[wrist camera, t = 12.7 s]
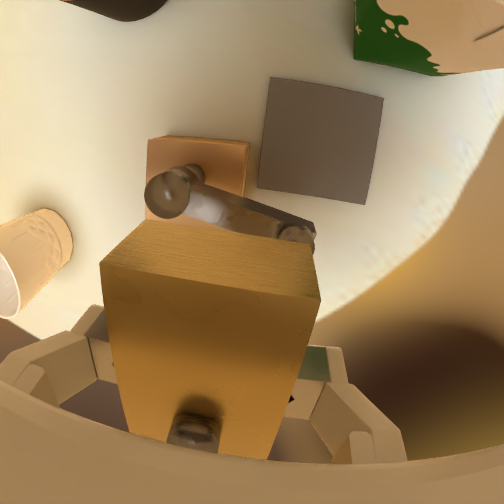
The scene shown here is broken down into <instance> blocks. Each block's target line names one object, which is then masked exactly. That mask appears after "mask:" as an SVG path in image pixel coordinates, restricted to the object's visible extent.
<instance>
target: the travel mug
mask: <svg viewBox="0 0 504 504" xmlns="http://www.w3.org/2000/svg"><path fill="white" fill-rule="evenodd" d="M60 1H64V2H67V3H70V4H73V5H76V6H79V7H82V8H85V9H87V10H90V11H93V12H96V13H98V14H101V15H104V16H106V17H109V18H112V19H115V20H118V21H125V22H127V21H136V20H139V19H142V18H145V17H147V16H149V15H151V14H152V13H154V12H155V11H157V10H158V9H159V8H160V7H161V6H162V5H163V4H164V3H165V2H166V1H167V0H60Z"/></svg>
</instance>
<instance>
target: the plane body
mask: <svg viewBox="0 0 504 504" xmlns="http://www.w3.org/2000/svg"><path fill="white" fill-rule="evenodd" d="M249 146H250V143H246V142H237V141H227V140H217V139H205V138H193V137H178V136H163V137H158V138H154V139H149V140H148V148H147V170H146V185H147V183H148V182H149V181H150V179H152V178H153V177H154V176H156V175H158V174H160V173H162V172H164V171H165V170H167V169H169V168H171V167H174V166H184V167H187V168H189V169H190V170H192V171H193V172H194V173H195V175H196V176H197V178H198V181H199V182H201V183H204V184H207V185H210V186H213V187H216V188H218V189H221V190H224V191H227V192H230V193H233V194H236V195H239V196H242V197H244V189H245V180H246V172H247V163H248V154H249ZM146 219H149V220H156V221H163V222H170V223H177V224H183V225H190V226H197V227H203V228H210V229H216V230H223V231H229V232H234V231H231V230H228V229H225V228H222V227H219V226H217V225H214V224H211V223H208V222H205V221H202V220H199V219H196V218H194V217H191V216H188V215H185V214H181V215H179V216H178V217H175V218H172V219H163V218H160V217H158V216H156V215H154V214H153V213H152V212H151V211H150V210H149V208H148V207H147V205H146ZM236 233H237V232H236Z"/></svg>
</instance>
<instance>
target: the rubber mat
mask: <svg viewBox="0 0 504 504" xmlns="http://www.w3.org/2000/svg"><path fill="white" fill-rule="evenodd" d="M383 100H384V98H380V97H376V96H372V95H368V94H364V93H359V92H355V91H350V90H346V89H341V88H336V87H331V86H325V85H320V84H314V83H308V82H302V81H295V80H288V79H281V78H273V77H270V84H269V92H268V100H267V108H266V116H265V124H264V132H263V140H262V148H261V156H260V165H259V173H258V181H257V188H260V189H268V190H275V191H282V192H289V193H295V194H302V195H309V196H315V197H321V198H327V199H333V200H339V201H345V202H351V203H357V204H362V205H365V203H366V198H367V193H368V188H369V183H370V178H371V173H372V168H373V163H374V157H375V152H376V146H377V140H378V134H379V128H380V121H381V114H382V107H383Z"/></svg>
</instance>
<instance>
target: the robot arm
mask: <svg viewBox="0 0 504 504" xmlns="http://www.w3.org/2000/svg"><path fill="white" fill-rule="evenodd" d="M97 378H98V379H101V380H105V381H108V382H112V383H116V384H118V383H117V378H116V374H115V369H114V364H113V358H112V353H111V348H110V342H109V336H108V330H107V323H106V316H105V309H104V307H103V306H99V305H96V304H94V305H91V306H90V307H89V308H88V310H87V311H86V312H85V313H84V314H83V316H82V317H81V318H80V319H79V321H78V322H77V323H76V324H75V326H74V327H73V328H72V329H71V331H70V332H69V331H64V332H61V333H59V334H56V335H54V336H51V337H48V338H46V339H43V340H41V341H38V342H36V343H33V344H31V345H28V346H26V347H23V348H21V349H18V350H16V351H13V352H11V353H9V355H8V356H7V357H6V358H5V359H4V361H3V362H2V363H1V364H0V504H504V445H500V446H496V447H492V448H487V449H483V450H479V451H474V452H469V453H464V454H458V455H452V456H446V457H439V458H432V459H424V460H415V461H407V457H406V453H405V449H404V444H403V440H402V436H401V433H400V430H399V429H398V428H397V427H396V426H395V425H394V424H393V423H392V422H391V421H390V420H389V419H388V418H387V417H386V416H385V415H384V414H383V413H382V412H381V411H380V410H379V409H377V408H376V407H375V405H373V404H372V403H371V402H370V401H369V400H368V399H367V398H366V397H365V396H364V395H363V394H362V393H361V392H360V391H359V390H358V389H357V388H356V387H355V386H354V385H353V384H348V380H347V374H346V369H345V364H344V359H343V354H342V350H341V348H340V347H328V346H325V347H323V346H314V345H307V349H306V352H305V355H304V358H303V361H302V364H301V367H300V370H299V373H298V376H297V379H296V382H295V385H294V388H293V390H292V393H291V396H290V399H289V402H288V405H287V407H286V410H285V413H284V416H283V417H291V418H300V419H308V420H309V421H310V423H311V424H312V426H313V427H314V429H315V430H316V432H317V433H318V435H319V436H320V438H321V439H322V441H323V442H324V444H325V445H326V446H327V448H328V449H329V451H330V452H331V454H332V455H333V457H334V458H333V459H332V460H331V462H330V463H329V464H309V463H292V462H279V461H268V460H258V459H250V458H243V457H235V456H228V455H222V454H217V453H211V452H205V451H200V450H195V449H190V448H186V447H181V446H177V445H172V444H168V443H164V442H160V441H156V440H152V439H149V438H145V437H141V436H138V435H134V434H131V433H128V432H124V431H121V430H118V429H115V428H112V427H109V426H106V425H103V424H100V423H97V422H94V421H92V420H89V419H86V418H83V417H80V416H78V415H75V414H73V413H70V412H68V411H65V410H63V409H61V408H60V407H59V404H60V403H62V402H64V401H65V400H67V399H68V398H70V397H71V396H73V395H74V394H76V393H77V392H79V391H81V390H82V389H84V388H85V387H87V386H88V385H90V384H91V383H93V382H95V381H96V380H97Z"/></svg>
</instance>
